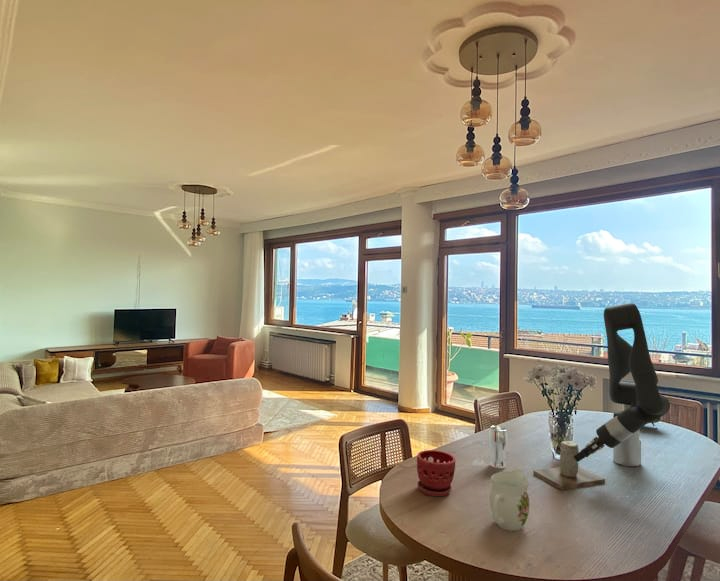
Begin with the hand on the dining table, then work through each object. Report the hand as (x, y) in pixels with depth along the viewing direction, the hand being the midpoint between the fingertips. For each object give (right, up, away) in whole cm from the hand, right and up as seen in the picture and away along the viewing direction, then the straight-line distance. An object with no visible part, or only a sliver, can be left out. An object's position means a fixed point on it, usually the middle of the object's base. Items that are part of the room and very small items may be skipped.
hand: (579, 456), depth 157 cm
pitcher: (-38, -8, -33) cm, 50 cm away
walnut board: (-3, -9, +2) cm, 10 cm away
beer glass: (-26, -9, +14) cm, 31 cm away
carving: (-3, -8, +2) cm, 9 cm away
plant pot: (-55, -8, -10) cm, 56 cm away
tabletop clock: (+71, -12, +72) cm, 102 cm away
